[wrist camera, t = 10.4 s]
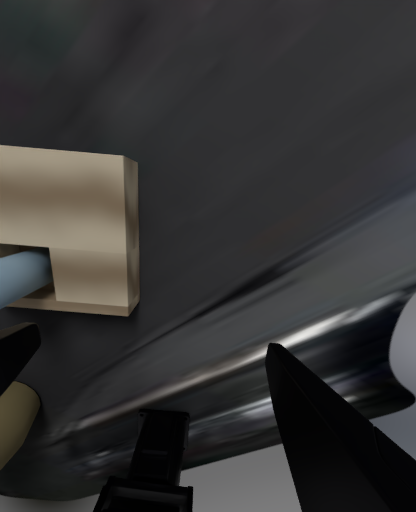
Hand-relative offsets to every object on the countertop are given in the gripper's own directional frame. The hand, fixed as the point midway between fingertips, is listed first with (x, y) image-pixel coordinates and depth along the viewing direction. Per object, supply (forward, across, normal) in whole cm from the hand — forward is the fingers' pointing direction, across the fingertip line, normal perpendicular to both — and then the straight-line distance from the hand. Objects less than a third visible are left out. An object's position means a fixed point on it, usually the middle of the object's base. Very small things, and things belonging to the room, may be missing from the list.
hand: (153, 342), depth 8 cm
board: (+13, +12, -1) cm, 17 cm away
